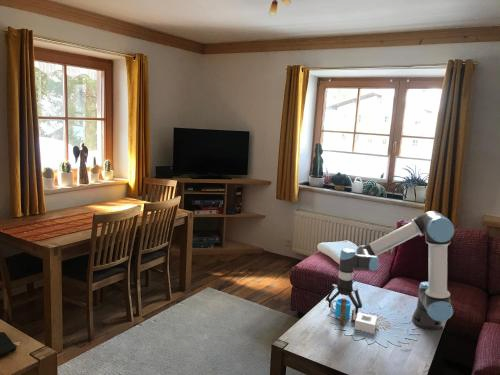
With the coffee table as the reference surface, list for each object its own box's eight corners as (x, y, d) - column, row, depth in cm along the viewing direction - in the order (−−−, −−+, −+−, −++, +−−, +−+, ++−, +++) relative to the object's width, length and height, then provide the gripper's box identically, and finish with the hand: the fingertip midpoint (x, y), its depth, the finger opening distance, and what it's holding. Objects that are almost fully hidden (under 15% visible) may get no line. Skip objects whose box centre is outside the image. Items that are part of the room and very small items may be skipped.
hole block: (376, 325, 217) (377, 316, 217) (374, 333, 208) (374, 324, 208) (357, 320, 221) (358, 312, 221) (354, 329, 212) (355, 320, 212)
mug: (352, 315, 227) (353, 302, 226) (344, 320, 221) (346, 306, 220) (334, 308, 235) (335, 295, 234) (326, 312, 229) (327, 299, 228)
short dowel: (356, 320, 222) (357, 310, 221) (355, 322, 220) (356, 312, 219) (351, 319, 223) (352, 309, 222) (350, 321, 221) (351, 311, 220)
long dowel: (344, 324, 217) (346, 298, 214) (343, 326, 214) (345, 300, 212) (339, 323, 218) (341, 297, 215) (338, 325, 215) (340, 299, 213)
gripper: (370, 280, 210) (366, 318, 214) (325, 271, 219) (322, 308, 223) (368, 285, 203) (364, 324, 207) (321, 276, 213) (318, 313, 217)
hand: (342, 316), depth 215 cm, fingers open, 12 cm apart
